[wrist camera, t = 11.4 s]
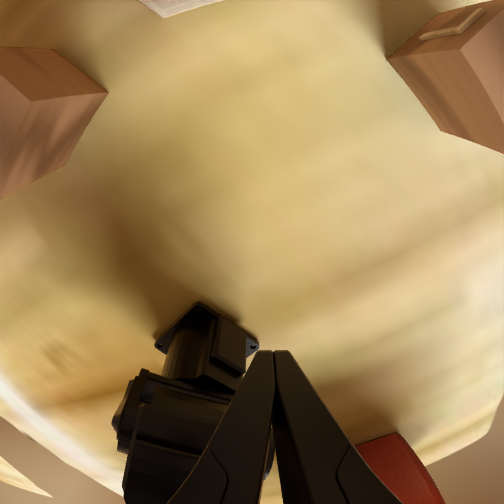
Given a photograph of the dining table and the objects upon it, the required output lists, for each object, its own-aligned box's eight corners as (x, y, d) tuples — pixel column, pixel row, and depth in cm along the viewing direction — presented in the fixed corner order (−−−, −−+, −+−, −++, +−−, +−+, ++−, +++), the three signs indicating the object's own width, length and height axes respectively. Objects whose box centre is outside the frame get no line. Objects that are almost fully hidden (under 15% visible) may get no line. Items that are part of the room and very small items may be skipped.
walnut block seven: (440, 131, 17) (520, 161, 10) (383, 57, 15) (456, 45, 8) (487, 83, 15) (567, 97, 8) (437, 11, 13) (514, -8, 6)
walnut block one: (64, 164, 18) (-11, 207, 11) (13, 119, 17) (-66, 144, 9) (109, 92, 16) (31, 101, 9) (51, 48, 14) (-32, 46, 7)
